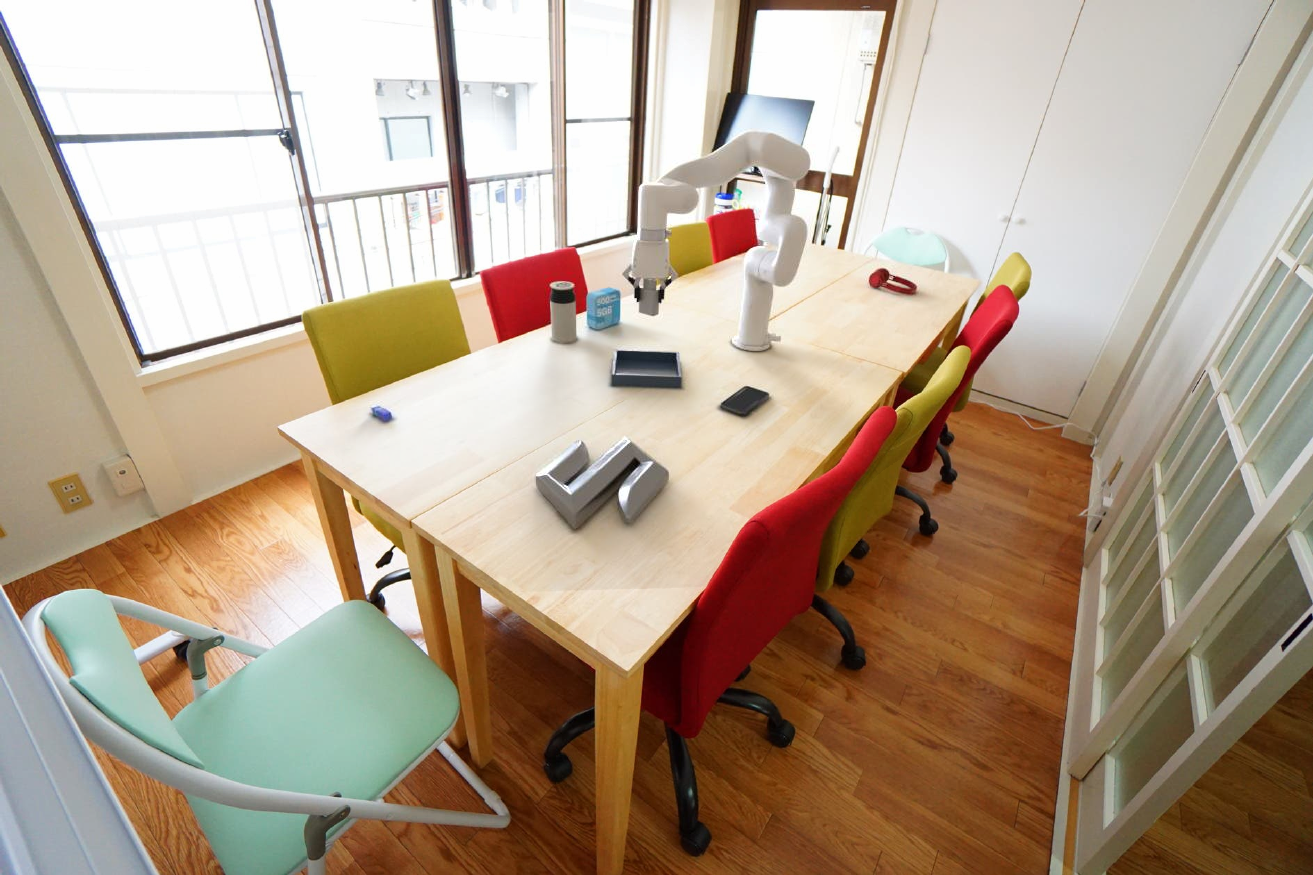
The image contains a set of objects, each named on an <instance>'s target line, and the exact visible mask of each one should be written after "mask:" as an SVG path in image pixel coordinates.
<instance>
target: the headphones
mask: <svg viewBox="0 0 1313 875" xmlns="http://www.w3.org/2000/svg"><path fill="white" fill-rule="evenodd" d="M888 281H890V282H888ZM891 282H893V283H897V284H900V285H903V286H905V287H902V286H899V285H895V284H893V283H891ZM868 284H869V285H870V286H871V287H872V288H874V289H879V288H884V289H886V290H889V291H892V292H895V293H898V294H902V295H914V294H915V293H916V291H917V289H918V286H917V284H916V283H914V282H913V281H910V280H908V279H907V278H903V277H901V276H898V275H894V274H891V273H890V271H889V270H888V269H887V268H885V267H880V268H877V269H875V271H874V272H872V273H870V275H869V277H868Z"/></svg>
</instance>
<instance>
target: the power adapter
mask: <svg viewBox="0 0 1313 875" xmlns="http://www.w3.org/2000/svg"><path fill="white" fill-rule="evenodd" d="M657 280H658V279H648V278H642V285H639V286H640V289H639V302H638V313H640V314H643V315H646V316H650V317H655V316H658V315H659V313H660V312H659V311H660V303H659V291H660V289H659V287H657V284H658V283H657Z"/></svg>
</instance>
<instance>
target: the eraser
mask: <svg viewBox="0 0 1313 875" xmlns="http://www.w3.org/2000/svg"><path fill="white" fill-rule="evenodd" d="M369 409H370V412H371V414H373V415H374V416H376V417H378V418H379V419H382V420H383V421H385V422H387V421H390V420H392V419H393V415H392V412H391V411H389V410H388V409H386V408H384V407H382V406H380V405H378V404H375V405H372V406H370V408H369Z"/></svg>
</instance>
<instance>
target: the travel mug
mask: <svg viewBox="0 0 1313 875" xmlns="http://www.w3.org/2000/svg"><path fill="white" fill-rule="evenodd" d="M549 287H550V288H551V289H550V290H551V292H550V293H549V307H550V325H551V326H550V327H551V340H552V341H553V342H556V343H560V344H568V343H569V344H570V343H572V342H574V341H576V340H577V307H576V306H577V304H576V303H577V302H576V301H577V300H576V293H575V291H574V288H575V284H574V283H573V282H571V281H562V280H561V281H554V282H551V283H550V284H549Z"/></svg>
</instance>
